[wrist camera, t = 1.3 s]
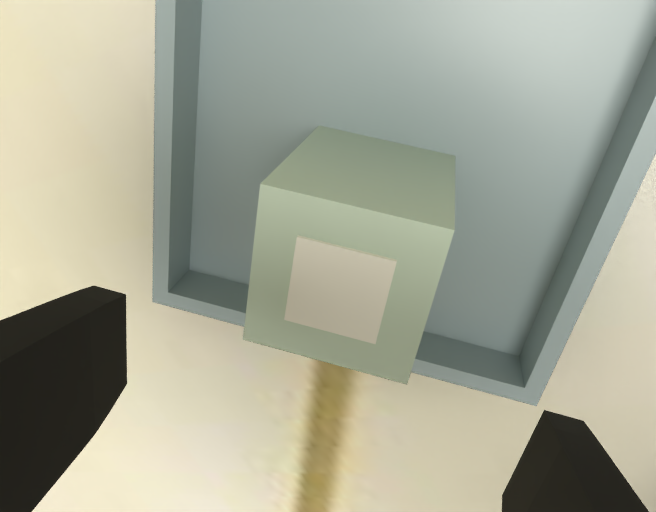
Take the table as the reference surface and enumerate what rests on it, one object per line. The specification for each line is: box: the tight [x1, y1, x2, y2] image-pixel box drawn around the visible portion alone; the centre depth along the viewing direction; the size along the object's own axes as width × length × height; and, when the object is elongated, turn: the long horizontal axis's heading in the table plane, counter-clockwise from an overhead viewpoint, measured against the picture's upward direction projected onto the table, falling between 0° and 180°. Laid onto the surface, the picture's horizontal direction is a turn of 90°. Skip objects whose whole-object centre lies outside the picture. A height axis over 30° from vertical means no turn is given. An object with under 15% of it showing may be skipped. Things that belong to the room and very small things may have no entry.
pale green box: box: [243, 125, 455, 384], centre depth 16 cm, size 4×4×6 cm
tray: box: [153, 0, 656, 406], centre depth 15 cm, size 21×14×2 cm
